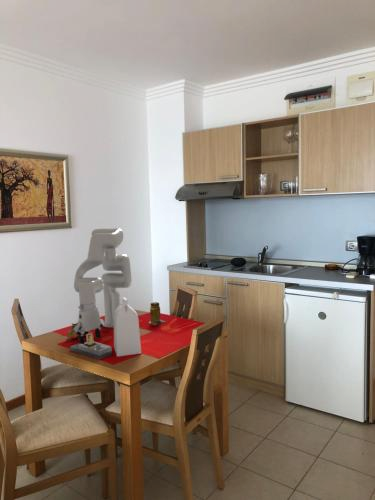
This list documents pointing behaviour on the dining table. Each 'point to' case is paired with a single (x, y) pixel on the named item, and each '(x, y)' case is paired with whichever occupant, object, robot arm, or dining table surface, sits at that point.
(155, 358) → the dining table surface
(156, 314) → the condiment
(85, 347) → the grey long rectangular block
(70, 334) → the passion flower
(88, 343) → the brass pin
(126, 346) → the milk
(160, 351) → the dining table surface
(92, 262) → the robot arm
